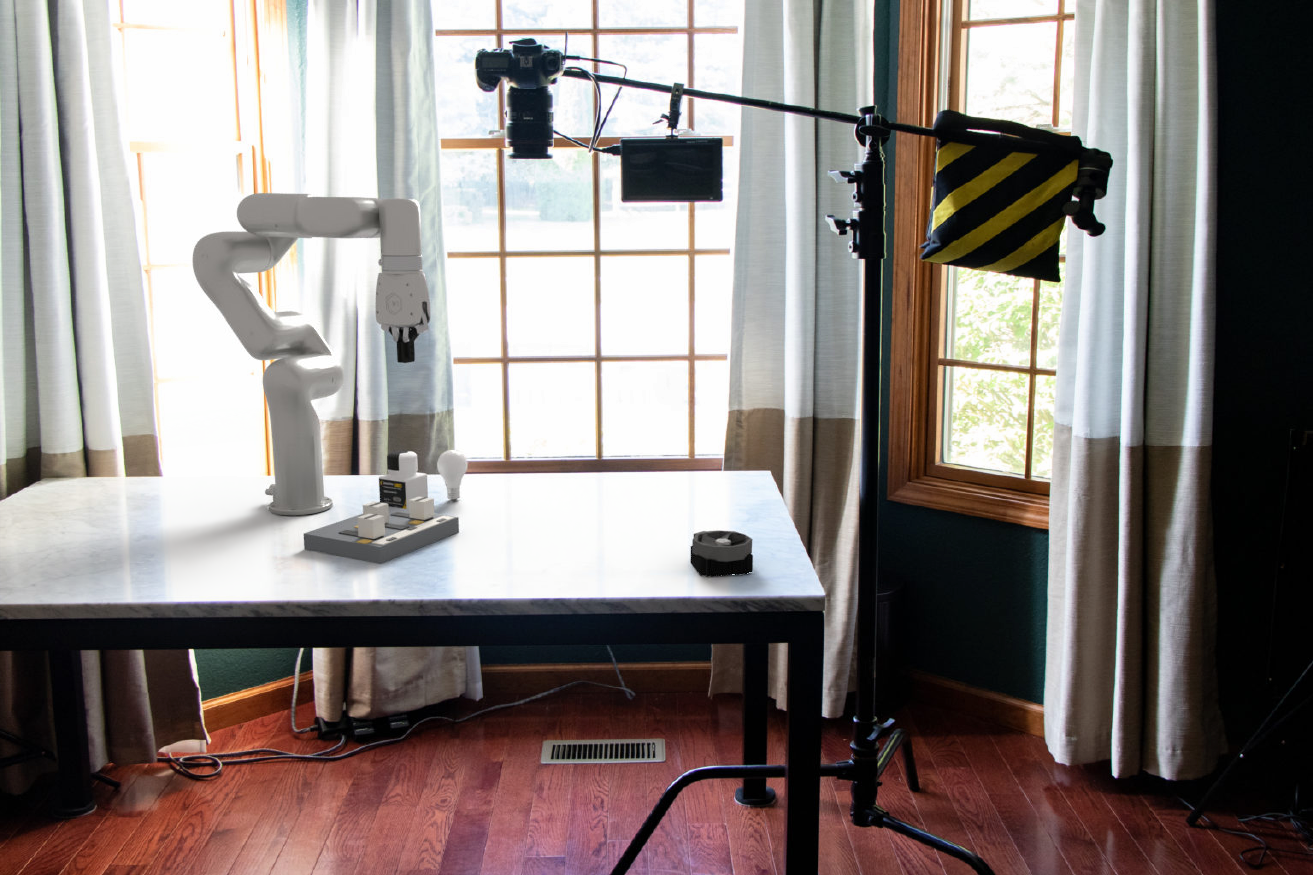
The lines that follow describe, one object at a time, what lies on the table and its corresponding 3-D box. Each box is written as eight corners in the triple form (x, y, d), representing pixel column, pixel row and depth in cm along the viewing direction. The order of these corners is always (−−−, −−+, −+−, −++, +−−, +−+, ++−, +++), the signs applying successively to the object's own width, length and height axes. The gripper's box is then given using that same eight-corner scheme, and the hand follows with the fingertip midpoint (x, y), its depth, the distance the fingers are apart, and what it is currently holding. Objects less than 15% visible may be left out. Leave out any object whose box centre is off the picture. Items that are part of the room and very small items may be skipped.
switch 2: (358, 536, 193) (357, 516, 192) (370, 532, 196) (369, 512, 195) (373, 538, 191) (372, 519, 191) (385, 534, 194) (384, 515, 193)
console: (304, 549, 196) (303, 531, 196) (386, 520, 215) (385, 504, 215) (380, 563, 188) (380, 545, 188) (459, 532, 207) (458, 515, 207)
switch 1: (363, 523, 201) (362, 504, 201) (374, 519, 204) (373, 500, 203) (378, 525, 200) (377, 506, 199) (389, 521, 202) (388, 503, 202)
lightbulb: (465, 504, 228) (463, 453, 226) (435, 504, 228) (433, 453, 226) (471, 496, 234) (469, 447, 232) (442, 496, 234) (440, 447, 232)
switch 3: (409, 517, 205) (408, 499, 204) (420, 514, 208) (419, 495, 207) (424, 520, 204) (423, 501, 203) (434, 516, 206) (433, 497, 206)
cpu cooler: (758, 544, 181) (700, 547, 179) (758, 576, 182) (699, 580, 180) (742, 527, 191) (686, 530, 189) (741, 558, 192) (685, 561, 190)
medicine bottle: (379, 510, 223) (376, 453, 221) (402, 502, 229) (400, 447, 227) (406, 514, 220) (403, 457, 218) (429, 506, 226) (426, 450, 224)
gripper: (357, 265, 204) (362, 362, 207) (420, 267, 197) (424, 366, 201) (384, 264, 210) (389, 357, 214) (446, 265, 204) (449, 362, 207)
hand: (406, 361), depth 207 cm, fingers closed
